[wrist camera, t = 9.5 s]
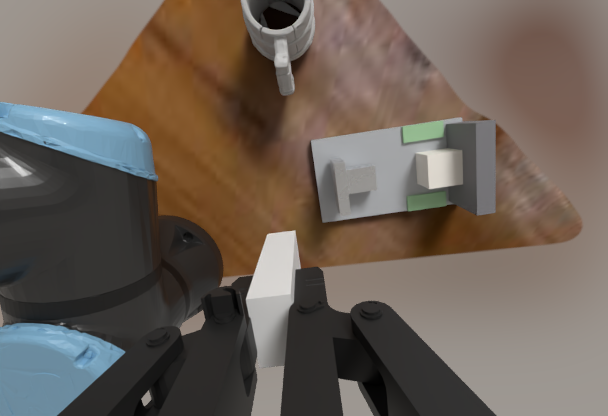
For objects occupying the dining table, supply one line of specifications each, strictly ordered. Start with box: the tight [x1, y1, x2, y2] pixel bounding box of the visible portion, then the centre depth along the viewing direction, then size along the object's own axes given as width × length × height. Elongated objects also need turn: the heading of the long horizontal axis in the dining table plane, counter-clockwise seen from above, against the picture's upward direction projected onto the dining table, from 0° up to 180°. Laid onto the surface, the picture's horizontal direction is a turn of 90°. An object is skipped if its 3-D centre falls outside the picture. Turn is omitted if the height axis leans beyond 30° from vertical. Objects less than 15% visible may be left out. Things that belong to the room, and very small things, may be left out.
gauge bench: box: [311, 117, 495, 223], centre depth 38 cm, size 19×11×8 cm, turn 99°
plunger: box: [329, 157, 377, 216], centre depth 37 cm, size 5×6×6 cm
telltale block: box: [415, 148, 463, 189], centre depth 38 cm, size 4×4×4 cm
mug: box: [241, 0, 315, 96], centre depth 32 cm, size 8×12×12 cm, turn 5°
